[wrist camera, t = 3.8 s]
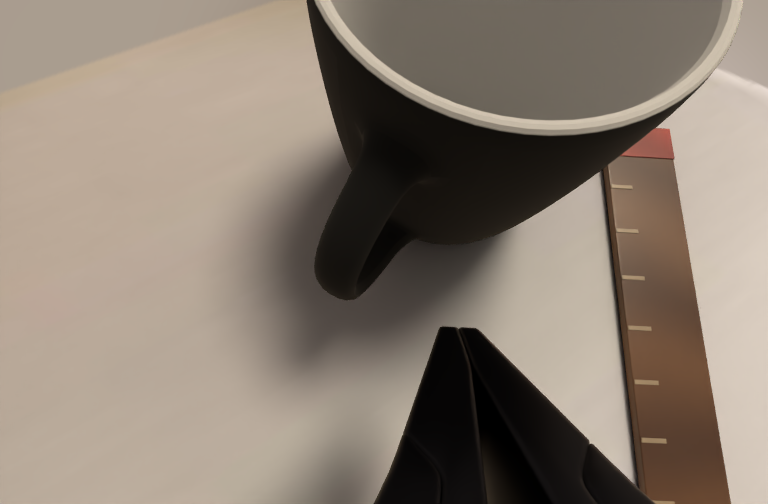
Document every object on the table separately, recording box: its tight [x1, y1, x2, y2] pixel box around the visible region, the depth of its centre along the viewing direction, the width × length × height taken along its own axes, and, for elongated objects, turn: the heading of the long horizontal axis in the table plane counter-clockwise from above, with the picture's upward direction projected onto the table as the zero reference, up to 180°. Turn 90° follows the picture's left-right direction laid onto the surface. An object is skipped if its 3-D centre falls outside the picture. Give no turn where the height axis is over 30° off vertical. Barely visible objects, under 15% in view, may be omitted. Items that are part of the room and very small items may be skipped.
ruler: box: [603, 128, 731, 504], centre depth 16 cm, size 16×3×1 cm, turn 177°
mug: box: [307, 0, 743, 300], centre depth 13 cm, size 12×9×10 cm
